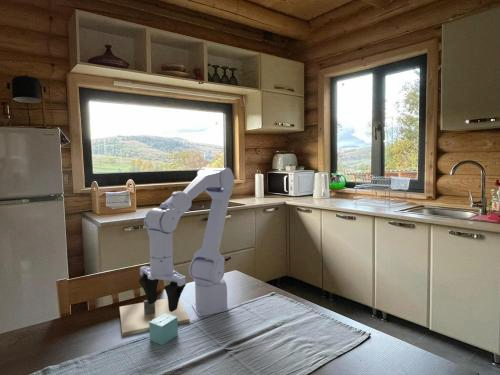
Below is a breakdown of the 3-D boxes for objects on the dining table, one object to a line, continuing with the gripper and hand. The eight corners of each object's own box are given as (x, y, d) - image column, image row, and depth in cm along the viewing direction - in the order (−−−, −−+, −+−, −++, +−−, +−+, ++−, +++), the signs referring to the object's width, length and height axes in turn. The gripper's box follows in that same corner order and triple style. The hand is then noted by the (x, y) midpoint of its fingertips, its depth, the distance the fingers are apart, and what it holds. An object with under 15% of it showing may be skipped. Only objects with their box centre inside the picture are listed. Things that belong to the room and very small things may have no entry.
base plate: (178, 299, 109) (177, 284, 109) (189, 322, 95) (189, 305, 94) (119, 309, 102) (118, 294, 102) (122, 336, 88) (121, 318, 87)
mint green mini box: (165, 330, 91) (165, 312, 90) (177, 334, 88) (177, 316, 88) (149, 340, 86) (149, 321, 85) (162, 345, 84) (161, 326, 83)
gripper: (129, 254, 85) (131, 305, 87) (170, 264, 78) (171, 320, 79) (151, 248, 91) (152, 295, 93) (191, 257, 84) (191, 308, 85)
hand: (162, 306), depth 86 cm, fingers open, 7 cm apart
